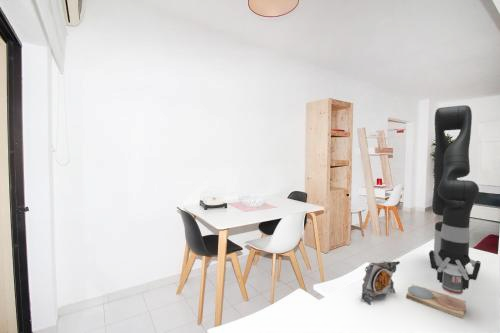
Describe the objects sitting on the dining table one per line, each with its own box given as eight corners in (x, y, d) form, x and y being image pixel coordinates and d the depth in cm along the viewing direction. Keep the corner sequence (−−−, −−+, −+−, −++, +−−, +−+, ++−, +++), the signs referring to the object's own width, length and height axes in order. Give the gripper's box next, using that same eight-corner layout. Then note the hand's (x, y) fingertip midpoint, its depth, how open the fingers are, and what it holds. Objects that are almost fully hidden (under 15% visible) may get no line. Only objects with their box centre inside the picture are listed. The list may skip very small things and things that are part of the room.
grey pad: (410, 284, 98) (410, 283, 98) (435, 292, 93) (435, 292, 93) (405, 293, 92) (405, 292, 92) (431, 302, 87) (431, 301, 87)
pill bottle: (466, 296, 82) (468, 267, 82) (447, 294, 84) (449, 266, 83) (456, 287, 88) (457, 260, 87) (438, 285, 89) (439, 258, 88)
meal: (371, 306, 87) (372, 270, 86) (361, 299, 91) (362, 265, 90) (399, 295, 93) (400, 261, 92) (388, 289, 97) (389, 257, 96)
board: (412, 287, 99) (412, 284, 99) (465, 304, 87) (465, 301, 87) (406, 297, 92) (406, 294, 91) (462, 318, 80) (463, 315, 80)
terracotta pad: (438, 293, 92) (438, 293, 92) (467, 303, 86) (467, 302, 86) (435, 303, 86) (435, 302, 86) (465, 314, 81) (465, 313, 81)
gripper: (484, 240, 82) (480, 289, 83) (431, 230, 92) (428, 274, 93) (483, 246, 77) (479, 298, 78) (427, 235, 87) (424, 281, 88)
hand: (452, 285), depth 86 cm, fingers closed on pill bottle, 5 cm apart
